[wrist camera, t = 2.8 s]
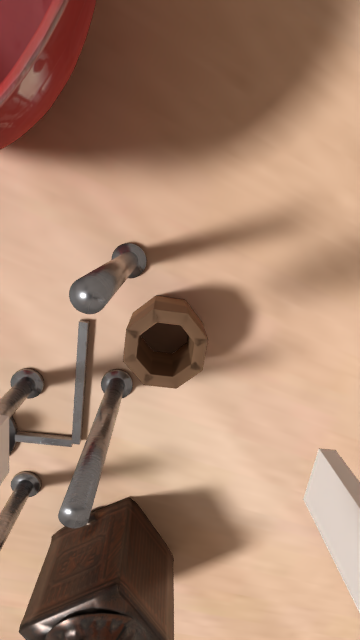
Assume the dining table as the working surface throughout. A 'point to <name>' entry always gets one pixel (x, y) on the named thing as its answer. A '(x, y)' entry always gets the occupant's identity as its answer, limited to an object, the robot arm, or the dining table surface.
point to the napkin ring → (162, 365)
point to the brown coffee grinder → (104, 581)
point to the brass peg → (12, 434)
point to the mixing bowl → (37, 57)
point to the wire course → (76, 400)
